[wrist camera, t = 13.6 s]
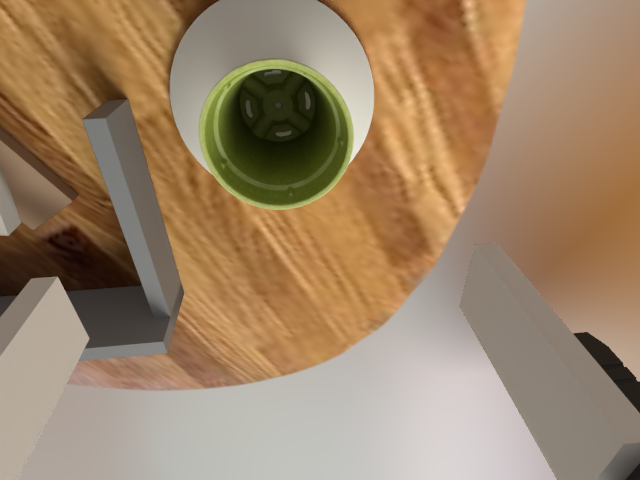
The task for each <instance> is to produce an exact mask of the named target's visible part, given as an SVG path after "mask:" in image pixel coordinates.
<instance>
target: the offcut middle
mask: <svg viewBox="0 0 640 480" xmlns="http://www.w3.org/2000/svg"><path fill="white" fill-rule="evenodd" d="M20 224H21V220H20V218H19V215H18V212H17V209H16V206H15V203H14V201H13V198H12V195H11V192H10V189H9V186H8V184H7V181H6V178H5V175H4V172H3V169H2V167H1V164H0V235H6V236H9V235H10V234H11V233H12V232H13V231H14V230H15V229H16V228H17V227H18V226H19V225H20Z"/></svg>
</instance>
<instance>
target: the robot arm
mask: <svg viewBox="0 0 640 480" xmlns="http://www.w3.org/2000/svg"><path fill="white" fill-rule="evenodd" d="M460 308H461V310H462V312H463V313H464V315H465V317H466V318H467V320H468V322H469V324H470V326H471V327H472V329H473V331H474V333H475V335H476V336H477V338H478V340H479V342H480V343H481V345H482V347H483V349H484V351H485V352H486V354H487V356H488V358H489V359H490V361H491V363H492V365H493V367H494V368H495V370H496V372H497V374H498V375H499V377H500V379H501V381H502V382H503V384H504V386H505V388H506V389H507V391H508V393H509V395H510V397H511V398H512V400H513V402H514V404H515V406H516V407H517V409H518V411H519V413H520V414H521V416H522V418H523V419H524V421H525V423H526V425H527V427H528V428H529V430H530V432H531V434H532V436H533V437H534V439H535V441H536V443H537V445H538V446H539V448H540V450H541V452H542V453H543V455H544V457H545V459H546V460H547V462H548V464H549V466H550V468H551V469H552V471H553V473H554V475H555V476H556V478H557V480H640V382H637V380H636V377H635V376H634V375H633V374H632V373H631V372H630V370H629V369H628V368H627V367H624V366H623V363H622V362H621V361H620V359H619V358H618V357H617V356H616V355H615V354H614V353H613V352H612V351H611V349H610V348H609V347H608V346H606V345H605V344H604V343H602V342H601V341H599V340H598V339H596V338H595V337H593V336H592V335H590V334H589V333H588V332H584V333H572V332H571V331H570V330H569V328H568V327H567V326H566V325H565V324H564V323H563V321H562V320H561V319H560V318H559V316H558V315H557V314H556V313H555V312H554V310H553V309H552V308H551V307H550V306H549V304H548V303H547V302H546V301H545V300H544V298H543V297H542V296H541V295H540V294H539V292H538V291H537V290H536V289H535V288H534V287H533V285H532V284H531V283H530V282H529V281H528V279H527V278H526V277H525V276H524V275H523V273H522V272H521V271H520V270H519V269H518V267H517V266H516V265H515V264H514V263H513V261H512V260H511V259H510V258H509V257H508V256H507V254H506V253H505V252H504V251H503V249H501V247H500V246H499V245H498V244H497V243H488V244H474V248H473V252H472V256H471V260H470V265H469V269H468V273H467V277H466V281H465V285H464V289H463V294H462V298H461V302H460ZM88 341H89V337H88V335H87V333H86V331H85V329H84V327H83V325H82V323H81V321H80V319H79V317H78V315H77V313H76V311H75V309H74V307H73V305H72V303H71V301H70V300H69V298H68V296H67V294H66V292H65V290H64V288H63V286H62V284H61V282H60V280H59V278H58V276H57V277H44V278H31V280H30V281H29V282H28V283H27V285H26V286H25V287H24V288H23V290H22V291H21V292H20V293H19V295H18V296H17V297H16V298H15V300H14V301H13V302H12V303H11V305H10V306H9V307H8V308H7V310H6V311H5V312H4V313H3V315H2V316H1V317H0V480H18V479H19V477H20V475H21V473H22V471H23V469H24V467H25V464H26V463H27V461H28V459H29V457H30V455H31V453H32V451H33V449H34V447H35V445H36V443H37V441H38V439H39V437H40V435H41V433H42V431H43V429H44V427H45V425H46V423H47V421H48V419H49V417H50V416H51V414H52V412H53V410H54V408H55V406H56V404H57V402H58V400H59V398H60V396H61V394H62V392H63V390H64V388H65V386H66V384H67V382H68V380H69V378H70V376H71V374H72V372H73V370H74V368H75V366H76V364H77V362H78V360H79V358H80V356H81V354H82V352H83V350H84V348H85V347H86V345H87V343H88Z"/></svg>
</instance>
